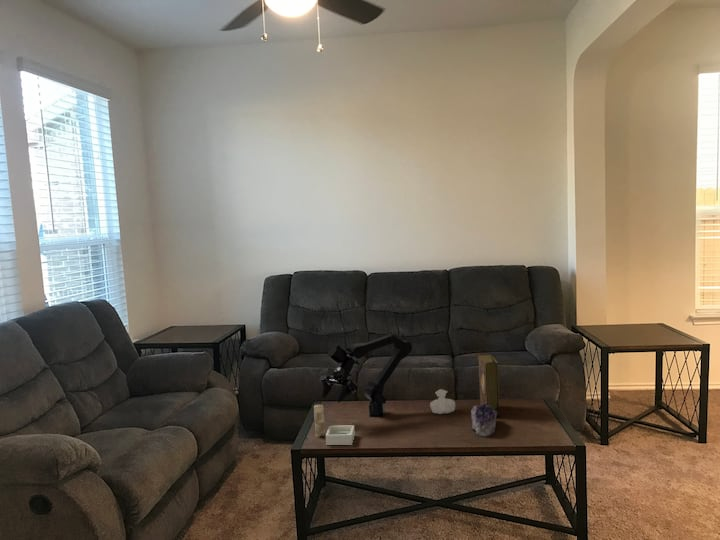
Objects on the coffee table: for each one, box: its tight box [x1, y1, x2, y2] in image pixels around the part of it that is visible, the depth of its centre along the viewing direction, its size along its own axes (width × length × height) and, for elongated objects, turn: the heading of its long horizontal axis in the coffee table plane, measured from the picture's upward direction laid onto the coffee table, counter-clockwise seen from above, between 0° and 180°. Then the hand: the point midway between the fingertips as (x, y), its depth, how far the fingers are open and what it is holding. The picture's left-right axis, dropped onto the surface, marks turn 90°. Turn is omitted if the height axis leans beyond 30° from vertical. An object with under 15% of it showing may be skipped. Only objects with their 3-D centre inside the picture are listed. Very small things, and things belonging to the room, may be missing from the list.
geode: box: [470, 404, 498, 439], centre depth 227 cm, size 20×12×10 cm, turn 170°
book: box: [478, 353, 501, 417], centre depth 247 cm, size 16×6×25 cm, turn 179°
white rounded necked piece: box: [429, 388, 456, 415], centre depth 251 cm, size 12×8×11 cm
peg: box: [313, 404, 326, 437], centre depth 229 cm, size 4×4×13 cm
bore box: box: [325, 424, 356, 446], centre depth 223 cm, size 11×11×4 cm
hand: (330, 400), depth 234 cm, fingers open, 9 cm apart
